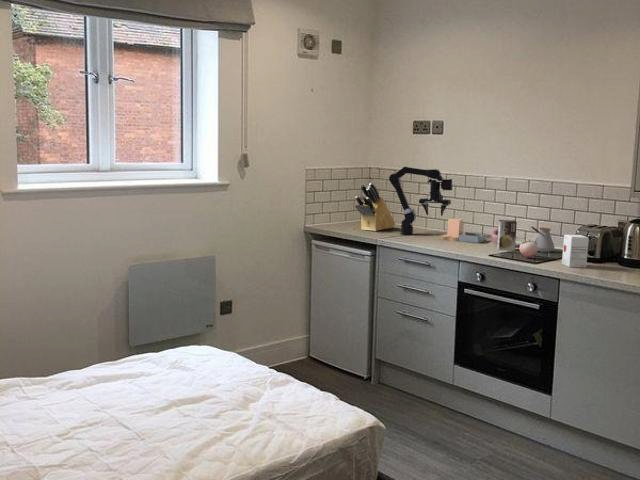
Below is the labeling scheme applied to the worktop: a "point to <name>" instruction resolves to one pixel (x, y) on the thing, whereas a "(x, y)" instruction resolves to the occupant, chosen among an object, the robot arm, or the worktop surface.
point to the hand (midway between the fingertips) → (434, 215)
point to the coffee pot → (544, 240)
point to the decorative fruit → (528, 248)
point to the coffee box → (506, 235)
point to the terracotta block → (454, 227)
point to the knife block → (373, 210)
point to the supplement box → (575, 250)
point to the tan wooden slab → (448, 238)
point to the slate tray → (472, 237)
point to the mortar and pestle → (495, 235)
